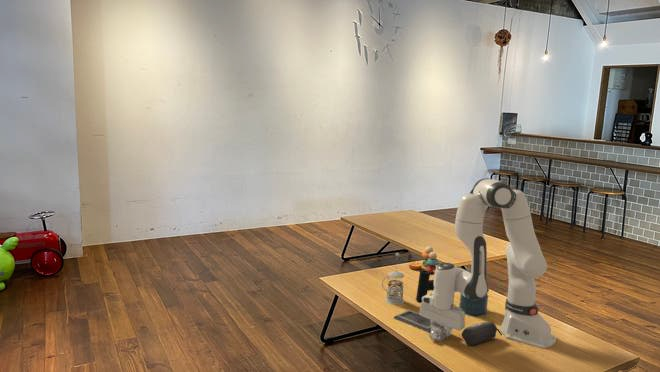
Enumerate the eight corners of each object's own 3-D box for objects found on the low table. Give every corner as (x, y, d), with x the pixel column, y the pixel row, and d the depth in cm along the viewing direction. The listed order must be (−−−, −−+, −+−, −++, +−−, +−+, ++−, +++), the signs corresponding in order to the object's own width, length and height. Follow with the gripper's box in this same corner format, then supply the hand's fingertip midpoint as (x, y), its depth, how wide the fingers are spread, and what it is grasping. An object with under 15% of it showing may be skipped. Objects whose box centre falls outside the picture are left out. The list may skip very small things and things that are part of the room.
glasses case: (484, 333, 213) (485, 316, 211) (504, 343, 204) (506, 325, 203) (455, 342, 203) (456, 325, 202) (474, 353, 194) (476, 335, 193)
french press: (404, 305, 239) (407, 256, 235) (380, 303, 241) (383, 254, 237) (405, 298, 248) (408, 251, 244) (382, 295, 250) (384, 248, 246)
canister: (456, 312, 233) (458, 277, 230) (462, 303, 244) (465, 269, 241) (484, 319, 227) (487, 283, 224) (489, 309, 238) (492, 274, 235)
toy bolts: (405, 265, 301) (406, 245, 299) (430, 263, 306) (432, 244, 303) (418, 275, 284) (419, 254, 282) (444, 273, 288) (446, 253, 286)
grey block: (451, 335, 209) (452, 322, 208) (436, 344, 200) (437, 331, 199) (442, 331, 212) (443, 318, 211) (427, 341, 203) (428, 327, 202)
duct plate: (442, 326, 218) (442, 322, 218) (428, 333, 210) (428, 329, 210) (408, 312, 231) (408, 308, 231) (393, 318, 224) (393, 315, 223)
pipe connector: (430, 297, 253) (434, 269, 251) (437, 300, 248) (441, 272, 246) (413, 299, 246) (417, 270, 245) (420, 302, 242) (425, 273, 240)
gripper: (469, 307, 199) (466, 339, 201) (427, 292, 213) (425, 322, 216) (461, 311, 195) (458, 343, 197) (418, 296, 209) (416, 326, 211)
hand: (440, 332), depth 206 cm, fingers closed on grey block, 5 cm apart
